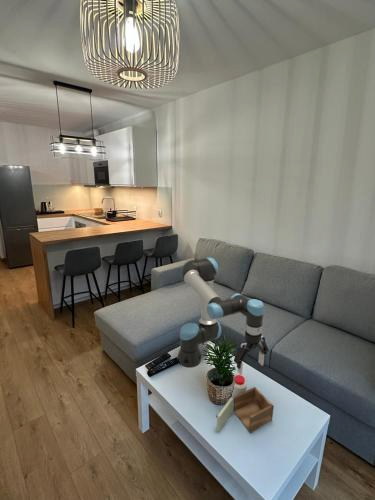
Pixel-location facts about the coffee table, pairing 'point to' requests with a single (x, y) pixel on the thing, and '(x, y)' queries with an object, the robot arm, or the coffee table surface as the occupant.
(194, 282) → the robot arm
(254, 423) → the box
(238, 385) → the pill bottle
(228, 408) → the door
